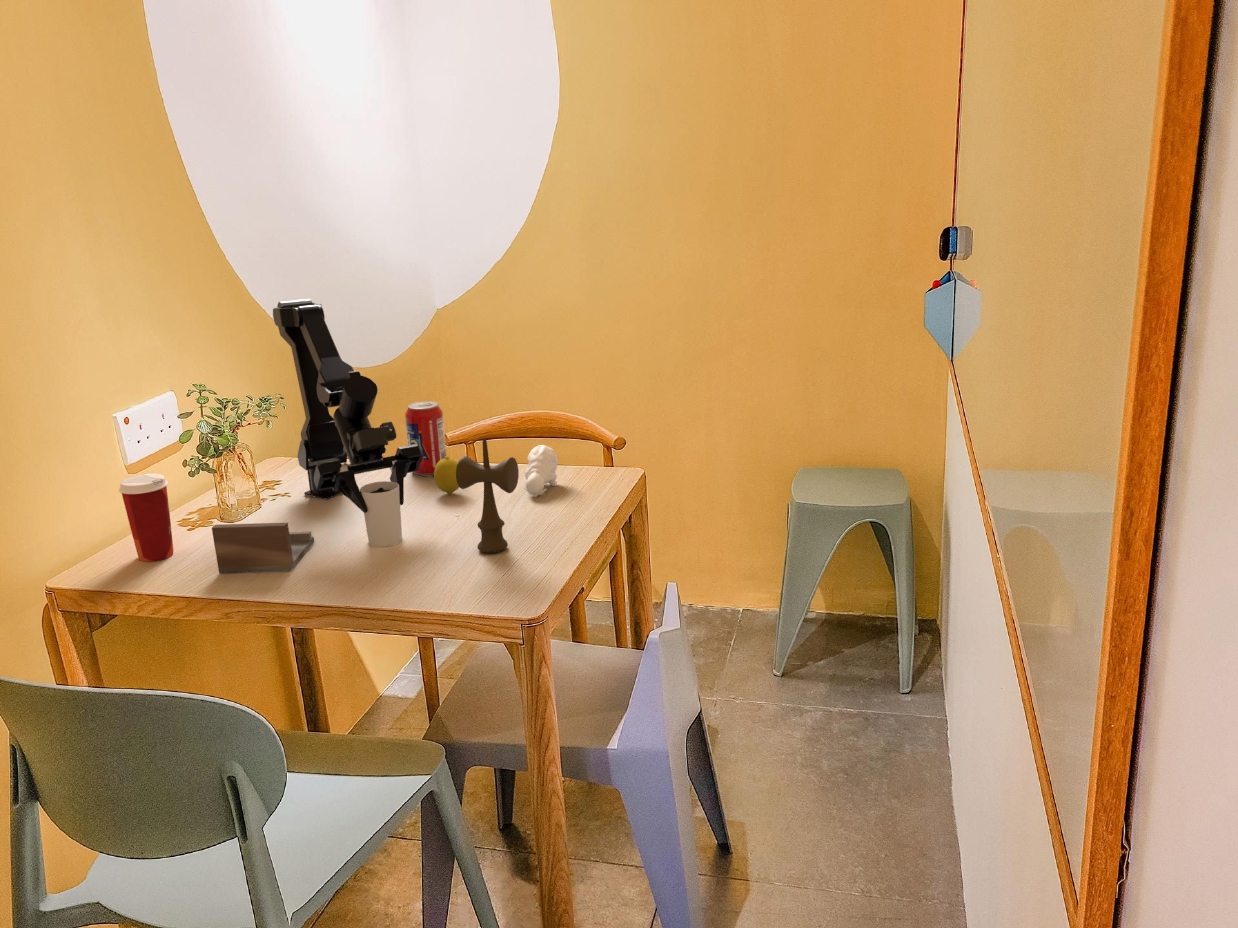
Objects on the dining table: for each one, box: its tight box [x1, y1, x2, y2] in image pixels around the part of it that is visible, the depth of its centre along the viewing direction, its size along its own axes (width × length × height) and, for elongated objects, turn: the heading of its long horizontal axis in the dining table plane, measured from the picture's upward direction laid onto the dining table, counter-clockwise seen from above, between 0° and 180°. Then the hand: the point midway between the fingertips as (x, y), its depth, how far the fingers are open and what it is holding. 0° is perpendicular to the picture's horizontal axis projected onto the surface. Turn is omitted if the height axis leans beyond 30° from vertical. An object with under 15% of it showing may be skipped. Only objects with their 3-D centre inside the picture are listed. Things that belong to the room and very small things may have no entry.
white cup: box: [359, 480, 403, 548], centre depth 176 cm, size 7×7×10 cm
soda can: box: [404, 400, 447, 477], centre depth 214 cm, size 8×8×15 cm
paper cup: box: [118, 473, 174, 563], centre depth 172 cm, size 8×8×14 cm
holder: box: [211, 522, 315, 574], centre depth 171 cm, size 13×12×8 cm
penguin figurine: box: [523, 444, 559, 498], centre depth 200 cm, size 6×8×12 cm
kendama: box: [456, 437, 520, 554], centre depth 169 cm, size 6×10×20 cm, turn 74°
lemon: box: [433, 455, 459, 496], centre depth 200 cm, size 6×6×8 cm
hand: (384, 507), depth 174 cm, fingers closed on white cup, 6 cm apart
